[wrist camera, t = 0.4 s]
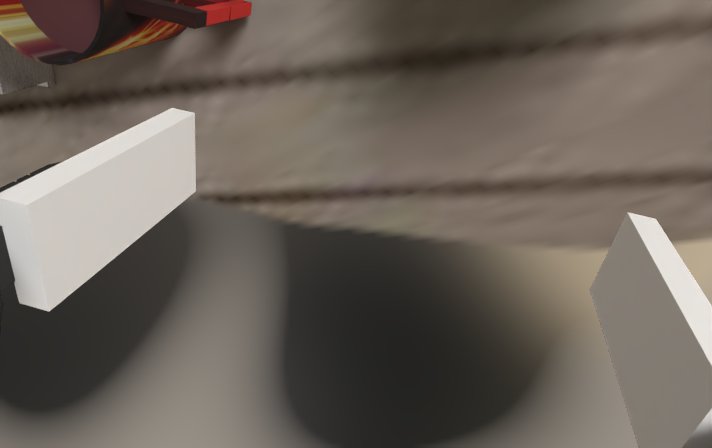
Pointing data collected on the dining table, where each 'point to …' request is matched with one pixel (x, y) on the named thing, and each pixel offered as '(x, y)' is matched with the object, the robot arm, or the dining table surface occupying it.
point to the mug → (104, 24)
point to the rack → (21, 70)
